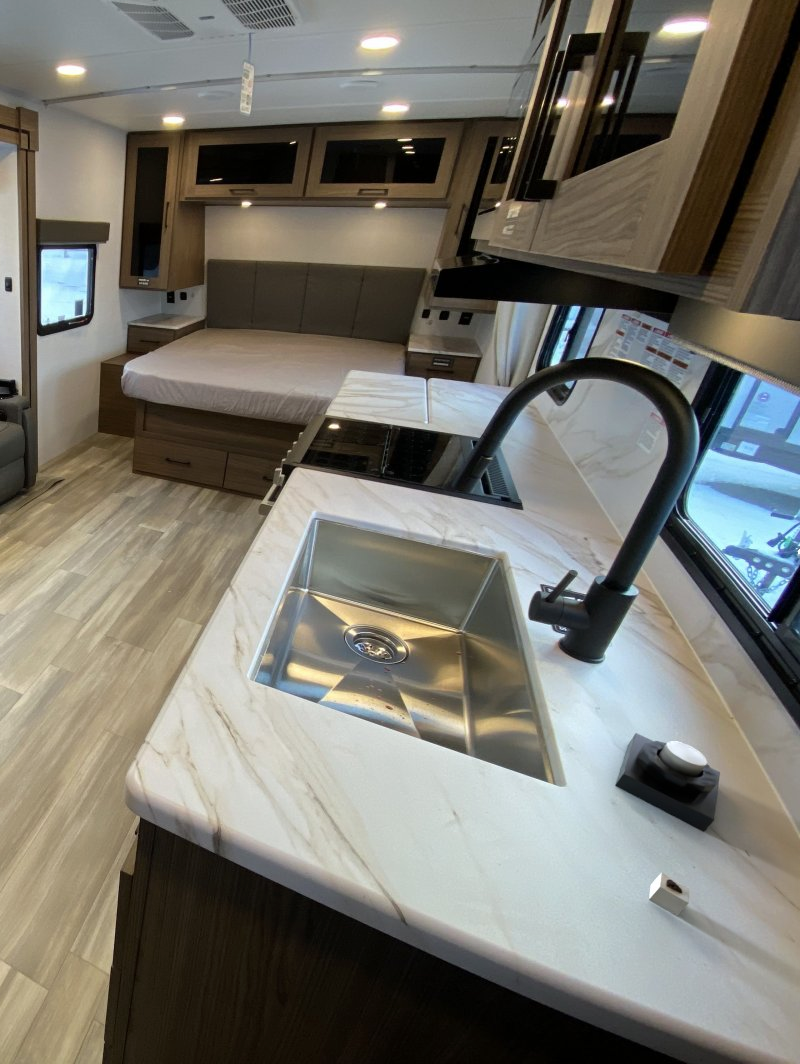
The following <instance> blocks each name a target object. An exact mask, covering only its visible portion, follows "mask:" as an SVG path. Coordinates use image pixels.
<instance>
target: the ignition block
mask: <svg viewBox="0 0 800 1064" xmlns="http://www.w3.org/2000/svg"><path fill="white" fill-rule="evenodd" d="M667 743H668V742H664V741H659V740H653V739H650V738H648V737H645V736H644V735H642V734H639V733H637V732H636V733H634V735H633V736H632V738H631V739H630V741H629V742H628V743H627V747H626V750H625V753H624V756H623V759H622V762H621V765H620V769H619V772H618V775H617V778H616V781H615V785H614V786H615V787H616V788H619V789H620V790H622V791H624V792H626V793H628V794H630V795H631V796H633V797H636V798H637V799H640V800H641V801H643V802H645V803H647V804H649V805H651V806H652V807H655V808H656V809H658V810H661V811H662V812H665V813H666V814H668V815H670V816H672V817H674V818H676V819H678V820H680V821H681V822H683V823H686V824H687V825H689V826H691V827H693V828H695V829H697V830H699V831H700V832H703V833H705V832H706V831H707V829H709V827H710V826H711V825H712V824H713V823H714V821H715V819H716V809H717V803H718V801H717V799H718V794H719V793H718V791H719V785H720V784H719V783H720V775H721V772H720V771H719V770H716V769H714V768H712V767H711V766H710V765H709V764H707V765H706V766H705V768H704V769H703V770H702V771H701V773H700V774H699V775H698V776H697V777H690V776H686V775H683V774H681V773H679V772H677V771H675V770H673V769H671V768H669V767H668V766H667V765H665V764H664V763H663V762H661V760H660V759H659V754H660V752H661V751H662V750H663V748H664V747H665V745H666V744H667Z"/></svg>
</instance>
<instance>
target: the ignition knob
mask: <svg viewBox="0 0 800 1064" xmlns="http://www.w3.org/2000/svg"><path fill="white" fill-rule="evenodd" d="M666 743H667V744H666V745H665V747H664V748H663V750H662V751H661V752H660V754H659V759H660V760H661V762H663V763H664V764H665V765H667V766H668V767H669V768H671V769H673V770H675V771H677V772H679V773H681V774H683V775H686V776H690V777H697V776H698V775H699V774H700V773H701V771H702V770H703V769H704V768H705V766H706V765H707V764H708V762H709V761H708V759H707V757H706V756H705V755H704V754H703V753H702V752H700V751H699V750H698V749H696V748H695V747H693V746H690V745H689V744H687V743H684V742H680V741H675V740H670V741H668V742H666ZM708 765H709V764H708Z"/></svg>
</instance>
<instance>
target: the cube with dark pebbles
mask: <svg viewBox="0 0 800 1064" xmlns="http://www.w3.org/2000/svg"><path fill="white" fill-rule="evenodd" d="M690 890H691V888H690V887H688V886H687V885H684V884H682V883H681V882H678V881H677V880H675V879H674V878H672V877H670V876H668V875H667V874H665V873H663V872H660V874H658V875H657V877H656V878H655V879H654V880H653V882H652V883H651V884H650V889H649V897H648V901H650V902H652V903H653V904H655V905H657V906H659V907H660V908H662V909H664V910H665V911H668V912H669V913H671V914H673V915H675V916H677V917H678V916H679V915H680V914H681V912H683V911H684V909H685V908H686V907H687V906H688V905H689V904H690Z"/></svg>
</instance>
